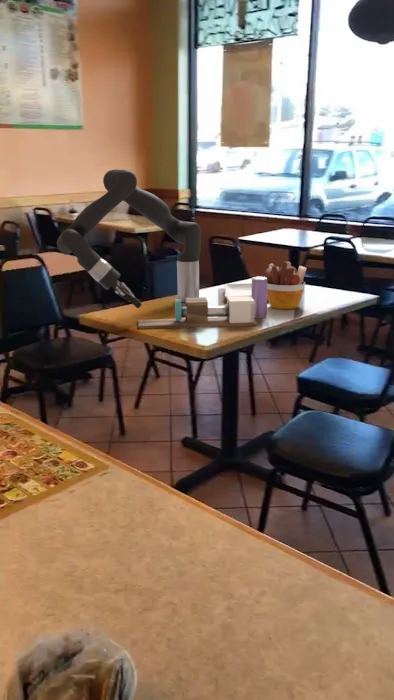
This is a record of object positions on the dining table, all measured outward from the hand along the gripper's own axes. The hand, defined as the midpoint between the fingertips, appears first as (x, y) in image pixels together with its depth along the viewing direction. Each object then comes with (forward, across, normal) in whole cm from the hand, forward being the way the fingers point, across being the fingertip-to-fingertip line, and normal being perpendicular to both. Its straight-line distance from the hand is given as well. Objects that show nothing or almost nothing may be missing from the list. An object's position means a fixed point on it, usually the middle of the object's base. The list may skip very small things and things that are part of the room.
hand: (140, 306), depth 231 cm
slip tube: (+22, 0, -14) cm, 26 cm away
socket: (+31, 0, -21) cm, 37 cm away
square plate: (+41, +47, -30) cm, 69 cm away
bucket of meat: (+47, +24, -36) cm, 63 cm away
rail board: (+20, 0, -10) cm, 22 cm away
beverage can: (+37, +9, -27) cm, 47 cm away
